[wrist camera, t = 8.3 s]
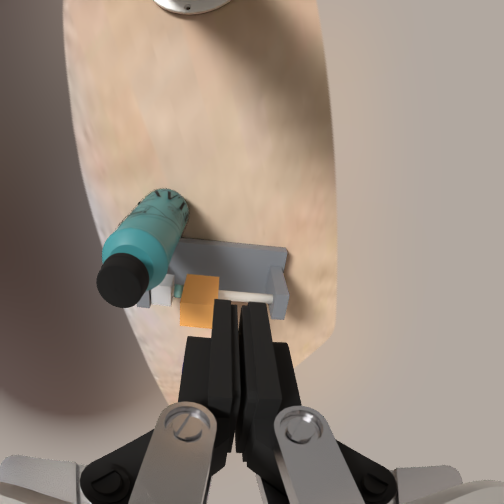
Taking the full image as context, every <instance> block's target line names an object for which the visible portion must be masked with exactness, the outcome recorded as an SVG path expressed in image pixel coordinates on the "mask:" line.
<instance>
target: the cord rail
mask: <svg viewBox="0 0 504 504" xmlns="http://www.w3.org/2000/svg"><path fill="white" fill-rule="evenodd" d="M179 241H180V242H178V243H179V244H177V246H176V248H175V251H174V253H173V256H172V258H171V261H170V264H169V266H168V271H167V274H166V276H165V278H164V280H163V281H162V282H161V283H160V284H159V285H158V286H157V287H155V288H153V289H151V290H148V291H146V292H145V293H144V294H143V296H142V298H141V299H140V301H139V302H138V303H137V307H144V308H150V306H151V303H152V304H153V305H162V306H171V304H172V300H173V297H176V298H181V297H182V292H183V288H184V284H185V280H186V276H187V274H194V275H204V276H215V277H219V290H218V299H224V300H231V301H238V302H263V303H266V304H269V310H270V315H271V319H279V320H284V318H285V313H286V309H287V305H288V300H289V296H290V295H289V291H288V288H287V285H286V281H285V278H284V275H283V273H284V268H285V263H286V258H287V250H286V248H283V247H273V246H263V245H253V244H242V243H232V242H221V241H211V240H200V239H189V238H181V239H179Z"/></svg>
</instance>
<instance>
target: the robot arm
mask: <svg viewBox="0 0 504 504" xmlns="http://www.w3.org/2000/svg"><path fill="white" fill-rule="evenodd" d="M153 1H154V2H155V3H156V4H157V5H158V6H160V7H162V8H163V9H165V10H168V11H170V12H173V13H178V14H188V15H191V14H201V13H205V12H210V11H212V10H215V9H218V8H220V7H221V6H223V5H225V4H227V3H228V2H229V1H231V0H153ZM187 8H190V9H189V10H186V9H187ZM234 433H235V441H236V442H235V443H236V452H237V453H242V457H243V462H247V467H248V468H250V469H251V470H252V471H253V472H255V473H256V479H257V483H258V487H259V490H260V494H261V497H262V501H263V504H504V482H501V481H495V480H483V481H473V482H468V483H465V484H463V482H462V478H461V476H460V473H459V472H458V471H457V470H456V469H455V468H453V467H451V466H446V465H442V466H431V467H430V466H429V467H411V468H396V469H395V470H394V471H392V470H391V471H389V470H388V469H386V468H385V467H383V466H381V465H380V464H378V463H376V462H374V461H372V460H370V459H369V458H367V457H365V456H363V455H361V454H360V453H358V452H356V451H354V450H353V449H351V448H349V447H347V446H346V445H344V444H342V443H341V442H339V441H337V440H336V439H335V438H334V436H333V433H332V431H331V429H330V427H329V425H328V422H327V421H326V419H325V418H324V416H322V415H321V414H320V413H319V412H318V411H316V410H314V409H312V408H309V407H305V406H301V400H300V396H299V391H298V387H297V383H296V378H295V373H294V369H293V364H292V360H291V355H290V351H289V347H288V344H287V343H283V342H272V336H271V330H270V324H269V318H268V312H267V307H266V303H263V302H248V306H244V305H242V308H241V315H240V322H239V329H238V316H237V305H231V300H224V299H214V308H213V321H212V335H211V338H203V337H192V336H188V337H187V343H186V349H185V356H184V363H183V369H182V376H181V384H180V391H179V398H178V402H177V403H174V404H172V405H169V406H168V407H167V408H165V409H164V410H163V411H162V413H161V414H160V416H159V418H158V421H157V423H156V426H155V429H153V430H151V431H150V432H148V433H146V434H144V435H143V436H141V437H139V438H137V439H136V440H134V441H132V442H130V443H128V444H126V445H125V446H123V447H121V448H119V449H117V450H115V451H113V452H111V453H109V454H107V455H105V456H103V457H102V458H100V459H98V460H96V461H94V462H92V463H90V464H89V465H78V464H77V463H76V462H69V461H60V460H50V459H41V458H34V457H28V456H22V455H11V456H9V457H7V458H5V459H4V460H3V462H2V463H1V466H0V504H207V501H208V496H209V491H210V486H211V481H212V476H213V475H214V474H215V473H217V472H218V471H219V470H220V469H222V468H223V467H224V466H225V463H226V457H227V453H230V452H231V449H232V444H233V438H234Z"/></svg>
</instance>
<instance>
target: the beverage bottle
mask: <svg viewBox="0 0 504 504" xmlns="http://www.w3.org/2000/svg"><path fill="white" fill-rule="evenodd" d="M148 194H149V193H148ZM142 200H143V199H142ZM185 201H186V200H184V198H183V197H182V195H180V194H178V192H175V191H173V190H169V189H167V188H166V189H159V190H155V191H153V192H151V193H150V194H149V195H148V196H147V197H146V198H145V199H144V200H143V201H142V202H141V203H140V202H139V203H138V204H137V205H138V206H137V207H136V206H135V207H136V208H135V209H134V210H133V211H132V213H131V214H130V215H129V216H127V218H126V217H125V218H126V219H125V218H124V219H125V220H124V219H123V220H124V221H123V220H122V224H121V225H120V224H119V225H120V226H119V227H118V229H117V230H116V231H115V232H114V233H113V234H111V235H110V236H109V238H108V239H107V240H106V242H105V244H104V247H103V251H102V261H103V265H102V267H101V270H100V271H99V273H98V276H97V288H98V291H99V293H100V294H101V296H102V297H103V298H104V299H105V300H106V301H107V302H108V303H110V304H111V305H113V306H116V307H120V308H128V307H132V306H134V305H135V304H137V303H138V302H139V301H140V299H141V298H142V296H143V294H144V293H145V292H146V291H148V290H151V289H153V288H155V287H157V286H158V285H159V284H160V283H161V282H162V281H163V280H164V278H165V276H166V274H167V271H168V266H169V264H170V261H171V258H172V256H173V253H174V251H175V248H176V246H177V244H179V243H178V242H180V241H179V239H181V238H180V237H181V234H182V232H183V231H184V227H185V225H186V222H187V220H188V210H189V209H188V206H187V204H186V202H185ZM189 214H190V212H189ZM188 221H189V220H188ZM187 223H188V222H187ZM185 228H186V227H185ZM182 236H183V235H182Z"/></svg>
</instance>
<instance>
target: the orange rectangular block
mask: <svg viewBox="0 0 504 504" xmlns="http://www.w3.org/2000/svg"><path fill="white" fill-rule="evenodd" d="M218 290H219V277H215V276H204V275H194V274H187V276H186V280H185V284H184V288H183V292H182V297H181V301H180V326H189V327H199V328H210V329H212V321H213V308H214V299H218Z"/></svg>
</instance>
